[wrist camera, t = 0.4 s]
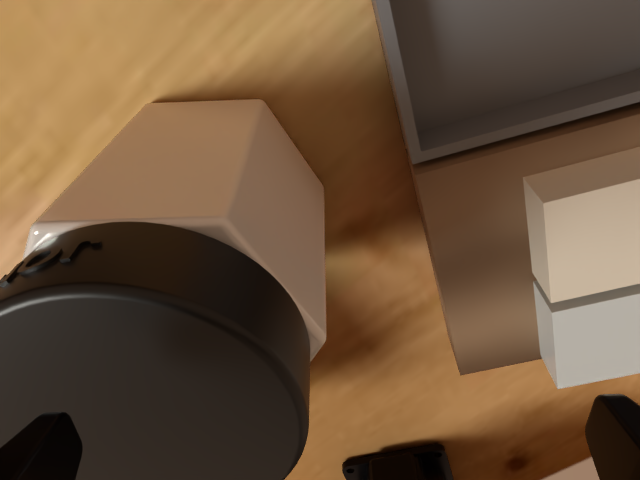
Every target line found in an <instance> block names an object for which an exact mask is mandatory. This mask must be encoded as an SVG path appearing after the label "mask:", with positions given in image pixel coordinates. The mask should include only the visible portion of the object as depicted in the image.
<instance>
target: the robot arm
mask: <svg viewBox="0 0 640 480" xmlns="http://www.w3.org/2000/svg"><path fill="white" fill-rule="evenodd" d="M585 434H586V440H587V443H588V446H589V449H590V452H591V455H592V458H593V461H594V464H595V467H596V470H597V473H598V476H599V479H600V480H640V406H639V405H638V404H637V403H635V402H634V401H633V400H631V399H630V398H628V397H627V396H625V395H622V394H603V395H598V396H597V397H596V398H595V400H594V403H593V406H592V409H591V412H590V414H589V417H588V420H587V423H586V427H585ZM82 451H83V446H82V441H81V438H80V436H79V434H78V432H77V430H76V428H75V425H74V423H73V421H72V419H71V417H70V415H69V414H67V413H66V412H47V413H43V414H41V415H39V416H37V417H36V418H35V419H34V420H32V421H31V422H30V423H29V424H28V425H27V426H25V427H24V428H23V429H22V430H21V431H19V432H18V433H17V434H16V435H15V436H13V437H12V438H11V439H10V440H9V441H7V442H6V443H5V444H4V445H3V446H2V447H0V480H75V479H76V476H77V472H78V468H79V465H80V461H81V457H82ZM342 471H343V474H344V476H345V478H346V480H454V479H453V476H452V472H451V469H450V465H449V462H448V458H447V454H446V451H445V448H444V446H443V445H440V444H434V445H429V446H423V447H418V448H412V449H407V450H402V451H396V452H391V453H385V454H380V455H375V456H369V457H364V458H358V459H353V460H348V461H345V462H344V463H343V464H342Z"/></svg>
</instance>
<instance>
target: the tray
mask: <svg viewBox="0 0 640 480" xmlns="http://www.w3.org/2000/svg"><path fill="white" fill-rule="evenodd" d="M372 4H373V9H374V13H375V17H376V22H377V26H378V31H379V35H380V39H381V44H382V48H383V52H384V57H385V61H386V65H387V70H388V74H389V78H390V83H391V87H392V92H393V96H394V100H395V105H396V109H397V113H398V118H399V122H400V126H401V131H402V135H403V139H404V143H405V146H406V148H407V151H408V154H409V156H410V159H411V162H412V164H416V163H420V162H423V161H427V160H431V159H434V158H438V157H441V156H445V155H449V154H452V153H456V152H460V151H463V150H467V149H470V148H474V147H478V146H481V145H485V144H489V143H492V142H496V141H499V140H503V139H507V138H510V137H514V136H518V135H521V134H525V133H528V132H532V131H536V130H539V129H543V128H547V127H550V126H554V125H557V124H561V123H565V122H568V121H572V120H576V119H579V118H583V117H586V116H590V115H594V114H597V113H601V112H605V111H608V110H612V109H615V108H619V107H623V106H626V105H630V104H633V103H637V102H640V0H372Z"/></svg>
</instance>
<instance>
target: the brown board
mask: <svg viewBox="0 0 640 480" xmlns="http://www.w3.org/2000/svg"><path fill="white" fill-rule="evenodd" d="M637 147H640V102H637V103H633V104H630V105H626V106H623V107H619V108H615V109H612V110H608V111H605V112H601V113H597V114H594V115H590V116H586V117H583V118H579V119H576V120H572V121H568V122H565V123H561V124H557V125H554V126H550V127H547V128H543V129H539V130H536V131H532V132H528V133H525V134H521V135H518V136H514V137H510V138H507V139H503V140H499V141H496V142H492V143H489V144H485V145H481V146H478V147H474V148H470V149H467V150H463V151H460V152H456V153H452V154H449V155H445V156H441V157H438V158H434V159H431V160H427V161H423V162H420V163H416V164H412V162H411V159H410V156H409V154H408V151H407V149H406V152H407V157H408V161H409V166H410V170H411V174H412V179H413V183H414V187H415V192H416V196H417V200H418V205H419V209H420V213H421V218H422V222H423V226H424V231H425V235H426V240H427V244H428V248H429V253H430V257H431V261H432V266H433V270H434V274H435V279H436V283H437V287H438V292H439V296H440V300H441V305H442V309H443V314H444V318H445V322H446V327H447V331H448V335H449V339H450V343H451V346H452V349H453V352H454V356H455V359H456V362H457V365H458V369H459V372H460V375H465V374H470V373H475V372H479V371H484V370H489V369H494V368H499V367H504V366H509V365H514V364H518V363H523V362H528V361H533V360H538V359H542V357H541V355H540V345H539V335H538V325H537V315H536V305H535V295H534V285H533V281H537V279H536V277H535V276H534V274H533V272H532V264H531V254H530V244H529V234H528V224H527V214H526V204H525V194H524V184H523V177H526V176H530V175H534V174H538V173H541V172H545V171H549V170H553V169H557V168H560V167H564V166H568V165H572V164H576V163H579V162H583V161H587V160H591V159H595V158H598V157H602V156H606V155H610V154H614V153H617V152H621V151H625V150H629V149H633V148H637Z"/></svg>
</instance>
